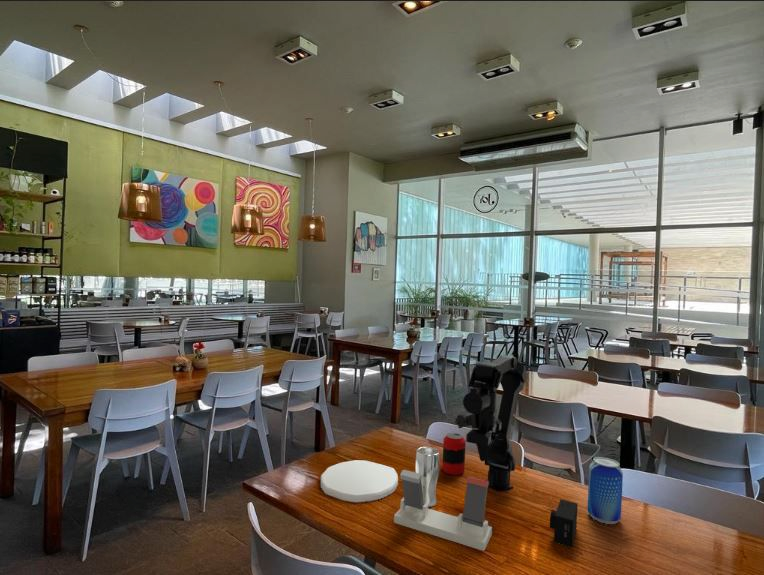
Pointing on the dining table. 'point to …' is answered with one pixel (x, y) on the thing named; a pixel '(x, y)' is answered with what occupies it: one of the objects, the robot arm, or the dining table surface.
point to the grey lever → (412, 489)
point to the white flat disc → (359, 481)
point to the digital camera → (564, 522)
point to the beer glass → (428, 472)
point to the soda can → (453, 454)
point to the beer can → (605, 490)
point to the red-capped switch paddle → (475, 501)
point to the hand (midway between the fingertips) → (483, 459)
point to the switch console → (444, 525)
